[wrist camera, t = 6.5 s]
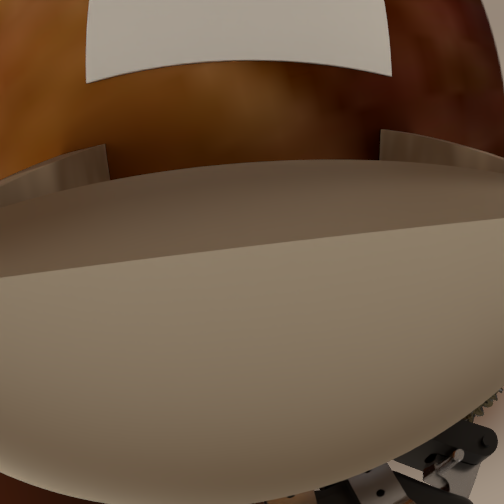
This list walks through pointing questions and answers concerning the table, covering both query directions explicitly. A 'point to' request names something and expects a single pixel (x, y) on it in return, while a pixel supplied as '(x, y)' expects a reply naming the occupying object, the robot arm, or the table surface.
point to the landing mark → (234, 34)
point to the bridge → (244, 319)
